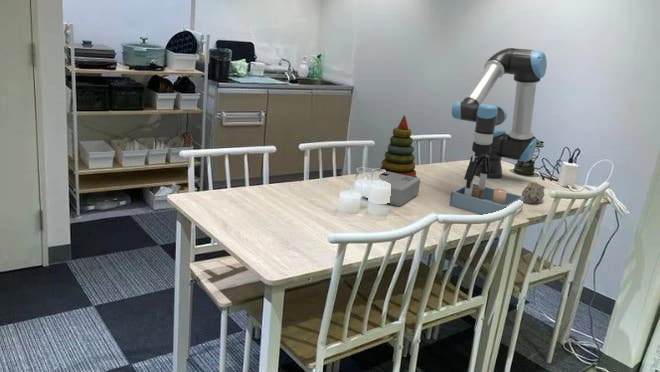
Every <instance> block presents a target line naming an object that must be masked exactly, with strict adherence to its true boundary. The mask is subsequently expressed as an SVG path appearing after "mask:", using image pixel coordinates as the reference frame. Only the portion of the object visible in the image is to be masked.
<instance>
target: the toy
mask: <svg viewBox="0 0 660 372" xmlns="http://www.w3.org/2000/svg"><path fill="white" fill-rule="evenodd" d="M411 135H412V129H411V128H409V126H408V122H407V118H406V115H403V116H402V118H401V121H400V122H399V124H398V126H397V127H394V128H393V129H392V136H390V139H389V143H388V145H387V151H385V153H384V157H385V158H384V159H383V160H382V161H381V166H380V168H379V170H380V169H385V170H386V172H393V173H397V174H402V175H407V176H411V177H416V178H419V177H417V171H416V170H415V169H416V164H415V162H414V161H415V159H416V158H415V155H414V154H413V153H414V151H415V148H414V146H412V145H413V142H414V140H413V137H411Z"/></svg>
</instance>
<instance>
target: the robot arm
mask: <svg viewBox="0 0 660 372" xmlns="http://www.w3.org/2000/svg"><path fill="white" fill-rule="evenodd" d="M547 63H548V62H547V56H546V54H545V52H543V51H541V50H536V49H525V48H514V47H508V48H505V49H502V50H499V51H498V52H496V53H494V54H493V55H492V56H491V57H489V58H488V60H486V62H485V63H484V67H483V70H482V72H481V73H480V75H479V77H478V78H477V79H476V81H475V82H474V84H473V85H472V87H471V88H470V90H469V91H468V93H467V94H466V96H465V98H464V99H463V100H462V101H459V100H458V101H455V102H454V103H453V104H452V107H451V116H452V118H453V119H457V120H461V121H465V122H466V121H467V122H473V123H475V128H474V132H473V142H472V146H471V147H472V148H471V151H472V152H473V153H474V155H471V156H470V158H469V159H470V160H469V162H468V166H467V169H466V172H465V175H464V177H463V179H464V180H466V181H465V186H466V187H465V193H464V195H468V196H471V194H472V187H473V184H474V178H475V176H477V177H479V181H478V185H479V186H478V187H479V188H483V189H485V187H486V184H487V179H500V178H502V177H503V167H502V158H503V159H504V158H505V159H509V160H513V161H514V160H515V161H518V162H525V163H526V162H529V161H530V160H531V159H532V157H533V155H534V153H535V151H536V149H537V147H536V146H537V143H538V142H537V139H535V138H534V133H533V132H532V131H531V129H532V124H533V123H532V121H533V113H534V107H535V106H534V105H535V97H536V89H537V84H538V83H540V81H541V79H542V78H544V77H545V75H546V71H547ZM505 74H508V75H513V81H514V82H515V83H516V87H515V95H514V106H513V115H512V116H513V117H512V124H511V125H512V126H511V130H510V131H508V133H507V130H505V129H497V128H496V126H500V125H501V124H503V123H504V122H505V121H506V119H507V117H508V113H507V110H506V109H505V108H504V107H502V106H496V105H495V104H487V103H483V102H484V101H485V99H486V98H487V96H488V94H489V93H490V91H492V89H493V87H494V85H495V84H496V82H497V81H498V80H499V79H500V78H502V77H503V75H505ZM495 128H496V129H495Z"/></svg>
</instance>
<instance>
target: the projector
mask: <svg viewBox="0 0 660 372" xmlns="http://www.w3.org/2000/svg"><path fill="white" fill-rule="evenodd" d="M379 178H380V179H381V180H383V181H386V182H388V183H390V184H391V196H390V204H389V205H392V206H396V207H401V206H403V205H405V204H406V203H407V202H409V201H411V200H412V199H413V198H415V197H417V196H418V195H419V193H420V186H421V185H420V184H421V179H420V178H419V177H418V178H416V177H411V176H407V175H402V174H397V173H393V172H384V173H382V174H380V175H379Z"/></svg>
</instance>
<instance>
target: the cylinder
mask: <svg viewBox="0 0 660 372" xmlns="http://www.w3.org/2000/svg"><path fill="white" fill-rule="evenodd" d="M493 189H494V194H493V199H492V202H493V203H496V204H500V205H505V199H506V194H507V192H508V191H507V190H506V189H503V188H493Z"/></svg>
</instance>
